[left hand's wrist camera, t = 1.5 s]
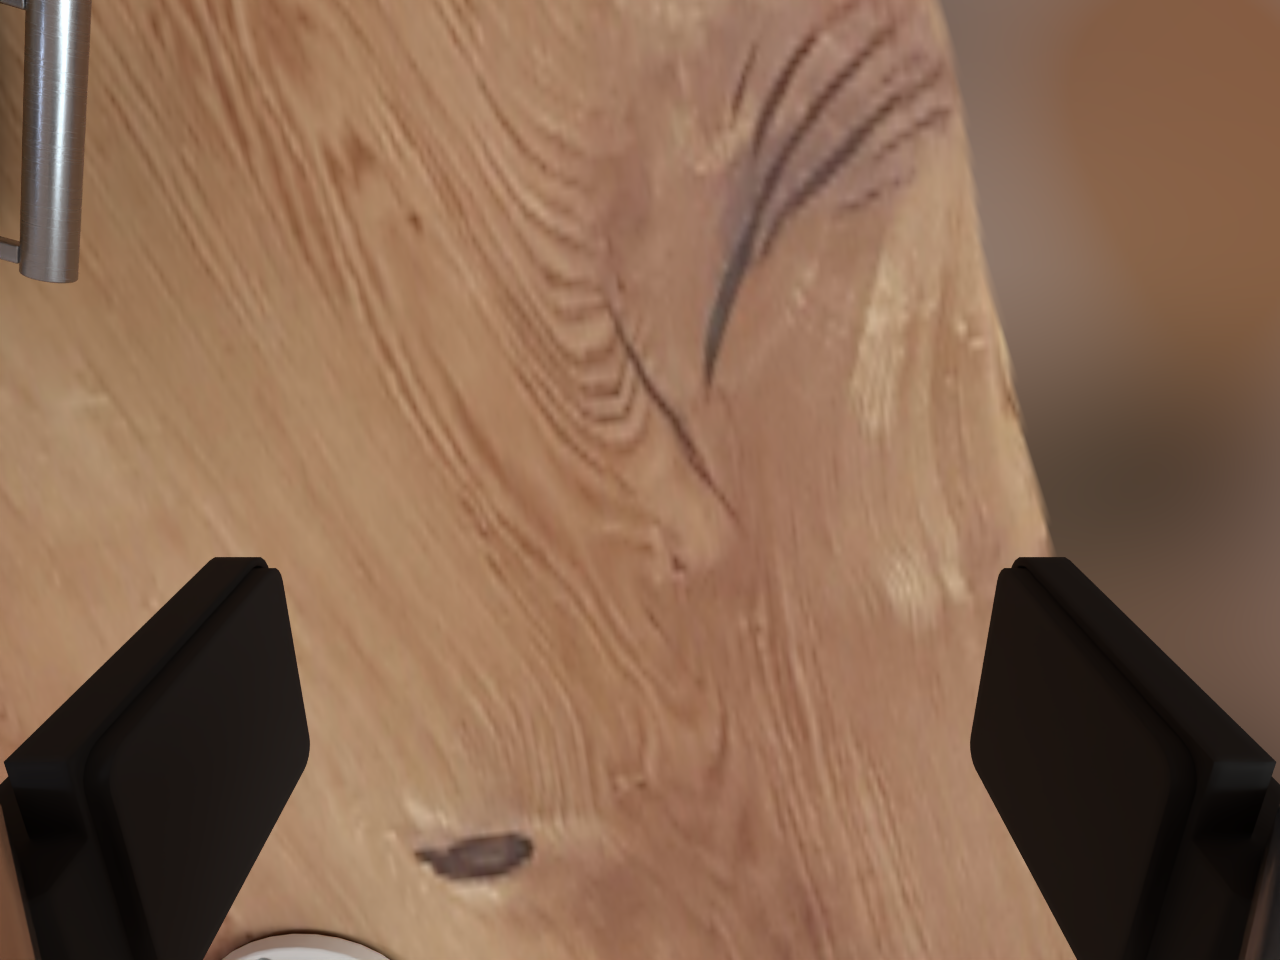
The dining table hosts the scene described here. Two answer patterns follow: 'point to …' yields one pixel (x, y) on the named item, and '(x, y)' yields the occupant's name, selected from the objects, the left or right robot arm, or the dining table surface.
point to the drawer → (52, 139)
